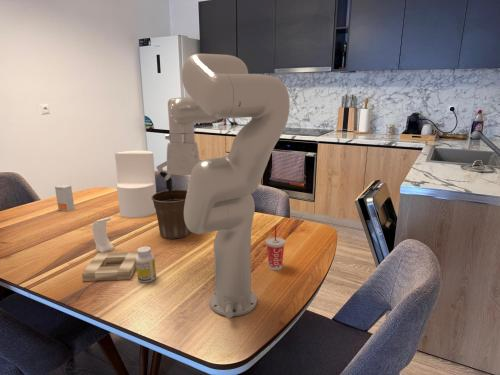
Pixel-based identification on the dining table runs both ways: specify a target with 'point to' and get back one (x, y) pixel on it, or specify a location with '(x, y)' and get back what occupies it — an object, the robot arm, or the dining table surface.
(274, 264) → the beverage cup
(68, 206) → the skincare box
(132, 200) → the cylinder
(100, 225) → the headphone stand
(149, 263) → the supplement bottle
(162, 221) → the plant pot
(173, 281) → the dining table surface
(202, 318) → the dining table surface
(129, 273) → the socket block
